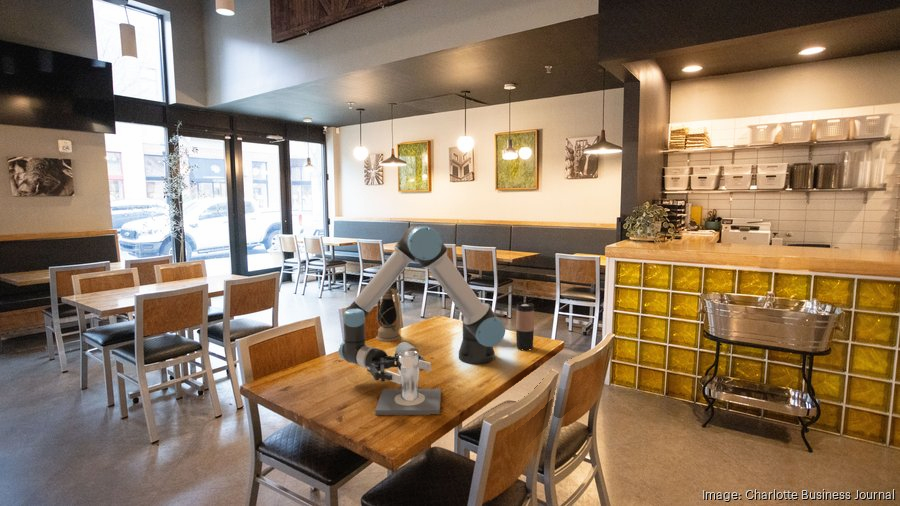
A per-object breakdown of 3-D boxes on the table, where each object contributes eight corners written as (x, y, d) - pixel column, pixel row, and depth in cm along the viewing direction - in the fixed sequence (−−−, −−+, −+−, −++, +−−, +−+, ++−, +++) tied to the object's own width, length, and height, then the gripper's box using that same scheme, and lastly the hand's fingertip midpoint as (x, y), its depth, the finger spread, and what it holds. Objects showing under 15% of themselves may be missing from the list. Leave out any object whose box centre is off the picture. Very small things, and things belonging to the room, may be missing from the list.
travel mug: (522, 352, 201) (523, 307, 198) (512, 347, 208) (513, 303, 205) (536, 349, 204) (537, 305, 202) (526, 344, 211) (527, 301, 209)
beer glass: (399, 394, 155) (397, 350, 153) (420, 393, 155) (418, 349, 154) (398, 403, 148) (397, 358, 146) (420, 402, 148) (419, 356, 147)
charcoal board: (440, 392, 160) (440, 388, 159) (439, 414, 144) (439, 409, 144) (383, 393, 160) (383, 388, 160) (375, 414, 144) (375, 409, 144)
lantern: (408, 337, 223) (407, 275, 219) (391, 343, 213) (389, 279, 210) (386, 332, 231) (384, 273, 228) (368, 338, 222) (367, 276, 218)
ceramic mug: (405, 367, 184) (405, 348, 183) (394, 361, 190) (394, 343, 189) (427, 361, 190) (427, 343, 190) (416, 356, 197) (416, 338, 196)
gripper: (398, 359, 172) (441, 373, 158) (343, 379, 153) (386, 397, 140) (398, 339, 171) (441, 351, 157) (343, 357, 152) (386, 373, 139)
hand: (415, 373), depth 149 cm, fingers open, 13 cm apart
